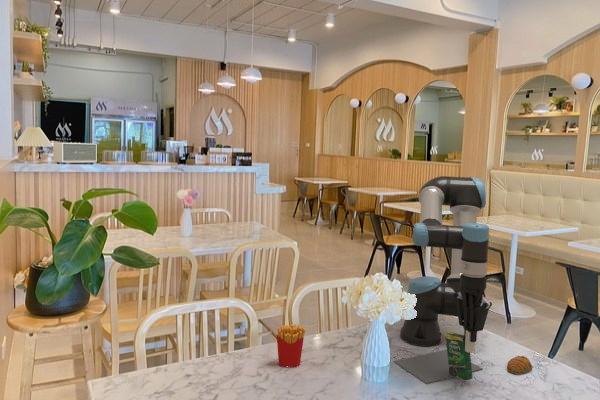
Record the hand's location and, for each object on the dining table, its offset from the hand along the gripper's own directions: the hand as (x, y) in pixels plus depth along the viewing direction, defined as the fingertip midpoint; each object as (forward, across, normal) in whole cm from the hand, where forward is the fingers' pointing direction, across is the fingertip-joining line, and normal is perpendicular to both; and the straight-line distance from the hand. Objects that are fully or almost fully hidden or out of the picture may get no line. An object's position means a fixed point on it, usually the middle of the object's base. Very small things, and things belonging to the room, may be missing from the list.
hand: (469, 351), depth 144 cm
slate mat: (+10, -14, +1) cm, 17 cm away
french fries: (+10, -34, -44) cm, 57 cm away
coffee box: (+10, -4, +1) cm, 11 cm away
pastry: (+11, -1, +25) cm, 27 cm away
